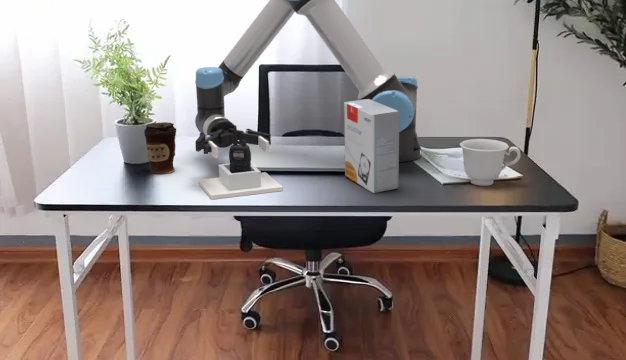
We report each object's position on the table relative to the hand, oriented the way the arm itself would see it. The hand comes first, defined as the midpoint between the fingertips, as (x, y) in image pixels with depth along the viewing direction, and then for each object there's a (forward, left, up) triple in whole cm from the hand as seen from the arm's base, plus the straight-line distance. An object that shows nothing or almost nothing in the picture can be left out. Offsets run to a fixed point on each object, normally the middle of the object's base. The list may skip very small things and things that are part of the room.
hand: (242, 149), depth 179 cm
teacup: (-61, +6, -11) cm, 63 cm away
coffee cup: (+20, -23, -11) cm, 32 cm away
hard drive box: (-32, 0, -10) cm, 34 cm away
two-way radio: (0, -4, -10) cm, 10 cm away
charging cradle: (+1, -4, -10) cm, 11 cm away
